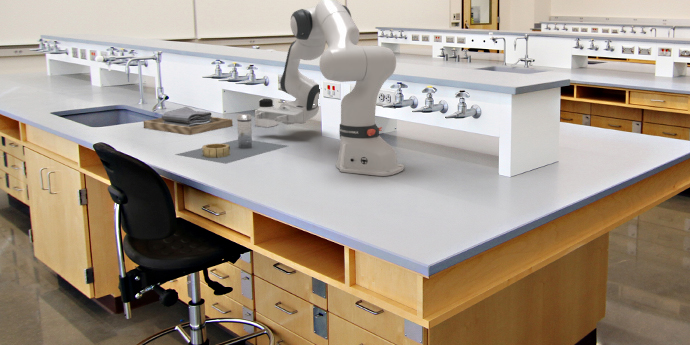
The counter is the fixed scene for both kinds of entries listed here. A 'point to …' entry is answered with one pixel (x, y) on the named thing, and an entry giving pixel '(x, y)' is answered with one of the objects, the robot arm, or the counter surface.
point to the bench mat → (236, 151)
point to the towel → (186, 117)
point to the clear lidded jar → (244, 131)
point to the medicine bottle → (264, 122)
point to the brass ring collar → (216, 150)
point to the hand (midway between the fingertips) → (267, 118)
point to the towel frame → (215, 124)
